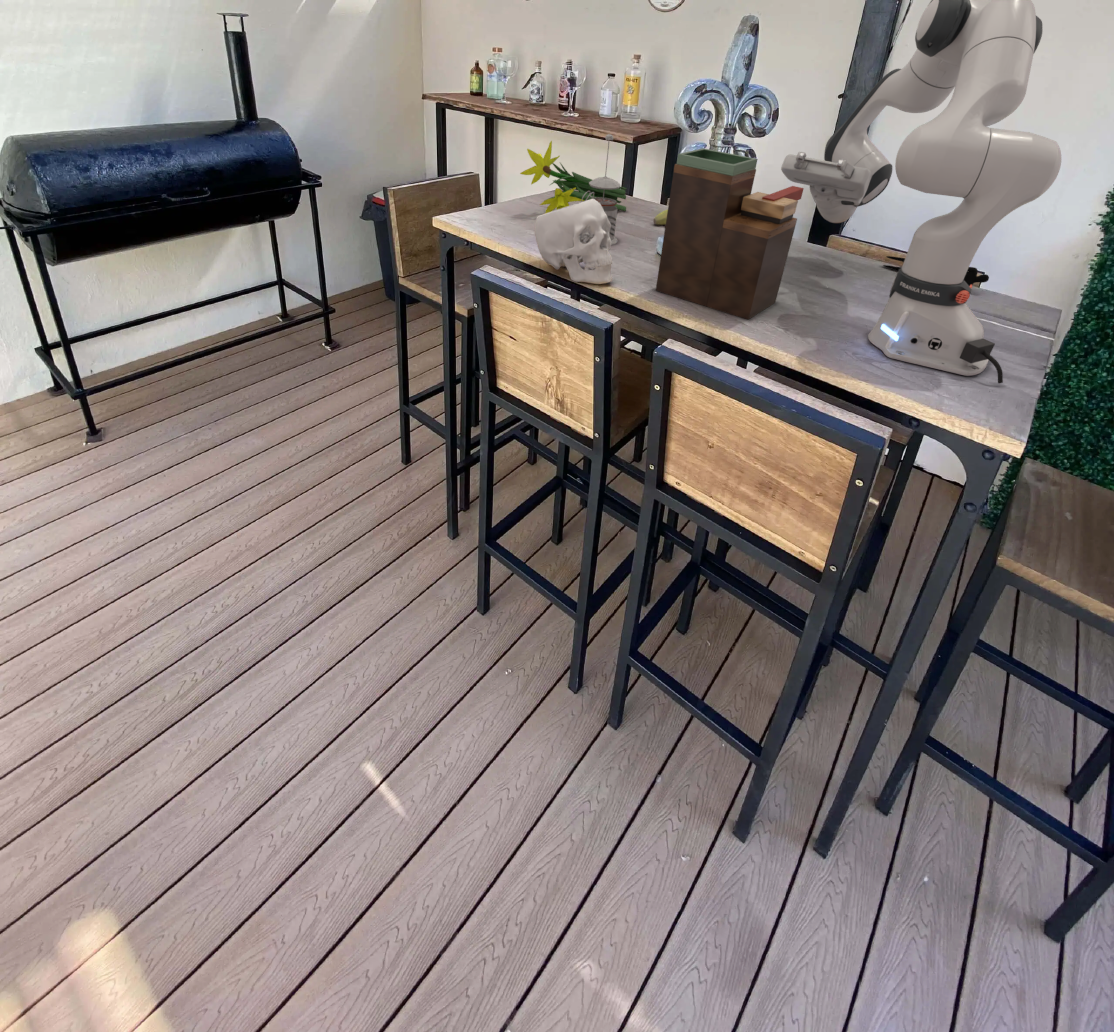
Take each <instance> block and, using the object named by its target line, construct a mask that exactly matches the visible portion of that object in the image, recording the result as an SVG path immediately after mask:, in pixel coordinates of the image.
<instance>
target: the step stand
mask: <svg viewBox="0 0 1114 1032" xmlns="http://www.w3.org/2000/svg"><path fill="white" fill-rule="evenodd" d="M756 172H757V168H756V169H754V170H751V171H748V172H744V173H741V174H738V175H734V176H730V175H725V174H720V173H716V172H711V171H706V170H701V169H697V168H692V167H687V166H683V165H678V164H677V163H675V164H674V166H673V174H672V181H671V187H670V192H669V193H670V194H669V200H668V206H667V209H668V212H667V219H666V225H664V226H665V227H664V232H663V240H662V246H661V252H660V259H659V264H658V265H659V266H658V272H657V277H656V278H657V279H656V284H655V285H656V286H655V291H656V292H659V293H662V294H665V295H668V296H671V297H675V298H678V299H682V300H685V301H688V302H691V303H694V304H698V305H701V306H703V307H707V308H710V309H713V310H715V311H719V312H722V313H726V314H729V315H732V316H736V317H739V318H742V319H745V320H749V321H750V319H752V318H753V317H755V316H757V315H758V314H760V313H762V312H763V311H765V310H766V309H768V308H769V307H771V306H773V305H774V304H776V301H777V298H778V294H779V290H780V287H781V282H782V279H783V276H784V271H785V267H786V263H787V260H788V256H789V252H790V249H791V244H792V241H793V237H794V234H795V229H796V225H797V221H798V218H796V217H793V218H792V219H790V220H788V221H785V222H783V223H781V224H776V223H772V222H768V221H764V220H760V219H755V218H751V217H747V216H743V215H741V211H742V210H741V206H742V201H743V197H745V196H748V195H750V194H752V190H753V186H754V181H755V177H756Z"/></svg>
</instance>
